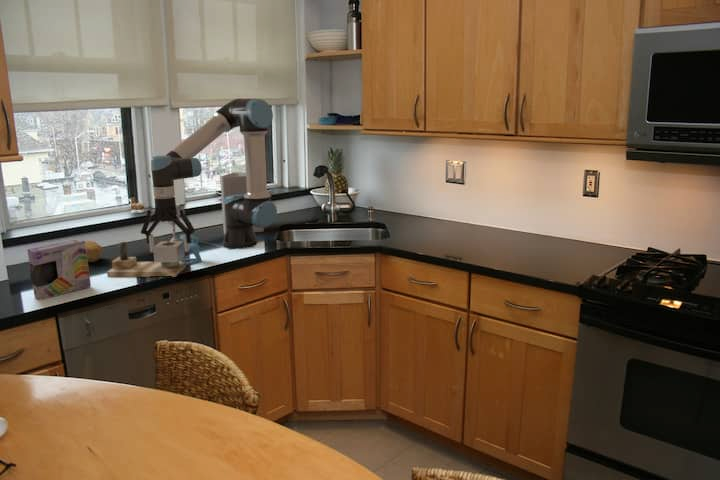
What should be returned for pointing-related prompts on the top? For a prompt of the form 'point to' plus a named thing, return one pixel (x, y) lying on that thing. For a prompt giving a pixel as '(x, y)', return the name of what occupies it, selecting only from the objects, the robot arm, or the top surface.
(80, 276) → the cake pan box
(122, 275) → the board
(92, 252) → the potato
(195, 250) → the chair
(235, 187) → the cream rectangular carton
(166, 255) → the collar
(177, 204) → the chalice
